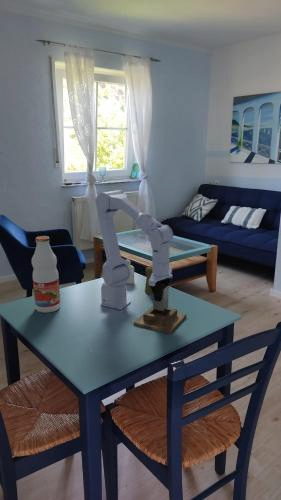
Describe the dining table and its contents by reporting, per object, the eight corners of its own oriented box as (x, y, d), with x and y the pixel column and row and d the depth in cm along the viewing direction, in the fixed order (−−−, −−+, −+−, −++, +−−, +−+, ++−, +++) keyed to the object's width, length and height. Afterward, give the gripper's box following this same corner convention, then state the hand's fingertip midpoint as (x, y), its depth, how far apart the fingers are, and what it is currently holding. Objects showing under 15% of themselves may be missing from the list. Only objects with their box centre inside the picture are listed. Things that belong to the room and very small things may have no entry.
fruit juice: (64, 304, 149) (60, 235, 141) (53, 314, 140) (47, 241, 133) (43, 301, 152) (37, 233, 144) (30, 311, 143) (23, 239, 135)
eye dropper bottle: (130, 285, 168) (129, 259, 164) (120, 283, 171) (119, 257, 167) (135, 282, 171) (135, 257, 168) (125, 280, 174) (125, 255, 171)
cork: (157, 294, 158) (157, 269, 155) (143, 293, 159) (143, 268, 156) (159, 289, 163) (160, 265, 160) (146, 288, 164) (146, 264, 161)
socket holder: (133, 324, 132) (133, 315, 131) (151, 309, 144) (151, 300, 143) (170, 333, 126) (170, 324, 125) (186, 317, 137) (186, 308, 136)
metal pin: (153, 308, 133) (153, 287, 130) (158, 304, 136) (158, 283, 134) (163, 310, 131) (163, 289, 128) (168, 306, 134) (168, 285, 132)
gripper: (162, 269, 121) (162, 308, 124) (180, 257, 133) (179, 293, 137) (142, 266, 124) (143, 304, 128) (161, 254, 136) (161, 290, 140)
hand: (160, 298), depth 132 cm, fingers closed on metal pin, 4 cm apart
